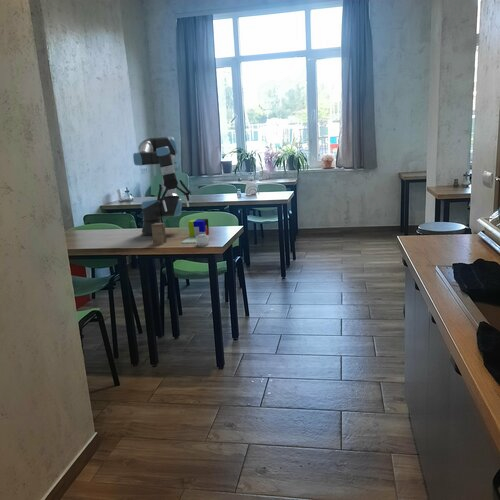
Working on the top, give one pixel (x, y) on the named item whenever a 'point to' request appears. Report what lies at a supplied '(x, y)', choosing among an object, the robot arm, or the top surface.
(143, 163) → the robot arm
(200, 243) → the sugar bowl
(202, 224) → the puzzle toy
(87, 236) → the top surface
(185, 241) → the pad
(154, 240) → the walnut block
